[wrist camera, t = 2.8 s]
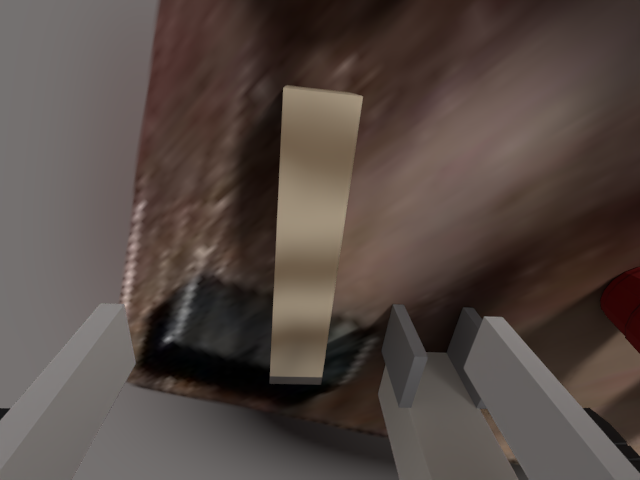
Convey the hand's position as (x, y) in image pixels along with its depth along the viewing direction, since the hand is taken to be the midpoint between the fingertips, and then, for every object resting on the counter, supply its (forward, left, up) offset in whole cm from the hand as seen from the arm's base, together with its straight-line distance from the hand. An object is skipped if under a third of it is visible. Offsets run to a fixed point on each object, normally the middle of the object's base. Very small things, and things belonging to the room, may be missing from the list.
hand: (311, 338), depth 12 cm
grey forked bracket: (+14, +12, -13) cm, 23 cm away
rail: (+2, 0, -14) cm, 14 cm away
